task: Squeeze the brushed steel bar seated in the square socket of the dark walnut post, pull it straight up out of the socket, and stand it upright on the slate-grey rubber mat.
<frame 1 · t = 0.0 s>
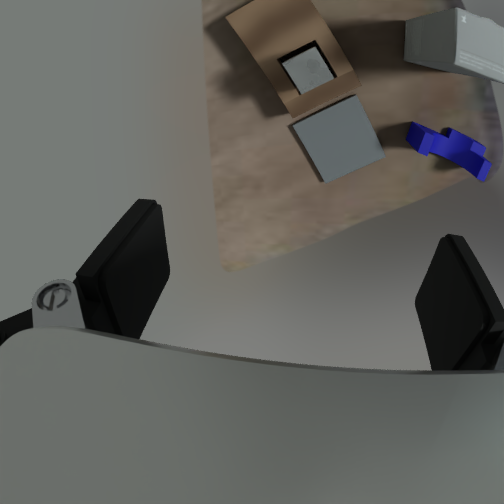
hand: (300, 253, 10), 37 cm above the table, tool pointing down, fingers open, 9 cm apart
cable clip: (442, 139, 40), on the table
skincare box: (430, 44, 32), on the table
steel bar: (306, 65, 38), resting in walnut socket post
walnut socket post: (295, 47, 37), on the table
rubber mat: (340, 139, 43), on the table
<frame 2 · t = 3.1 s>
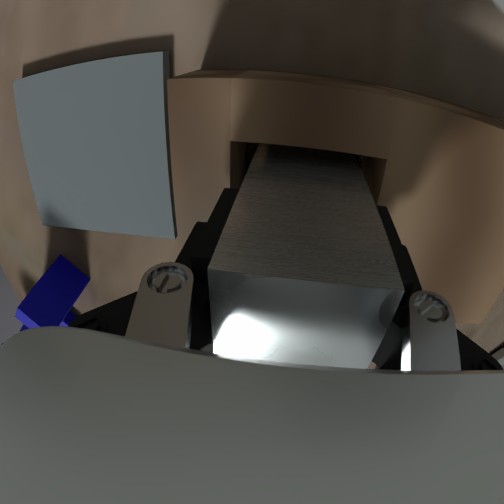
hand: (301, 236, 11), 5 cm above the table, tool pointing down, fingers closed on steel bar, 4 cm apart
cable clip: (65, 302, 25), on the table
steel bar: (302, 176, 15), resting in walnut socket post, touching gripper
walnut socket post: (362, 184, 15), on the table
rubber mat: (91, 148, 16), on the table
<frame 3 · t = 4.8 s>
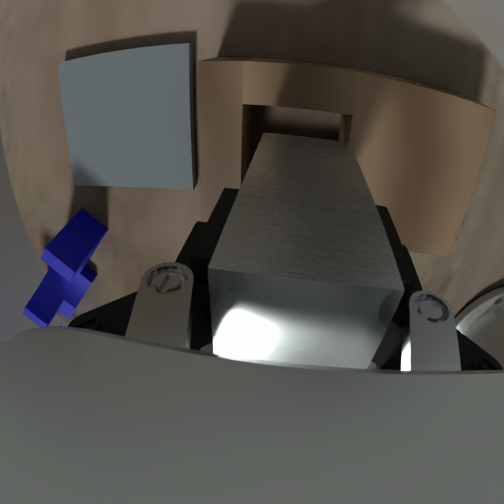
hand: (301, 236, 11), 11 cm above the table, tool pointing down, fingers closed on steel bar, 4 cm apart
cable clip: (81, 258, 29), on the table
steel bar: (302, 175, 15), point 5 cm above the table, touching gripper
walnut socket post: (341, 142, 19), on the table
rubber mat: (125, 118, 20), on the table
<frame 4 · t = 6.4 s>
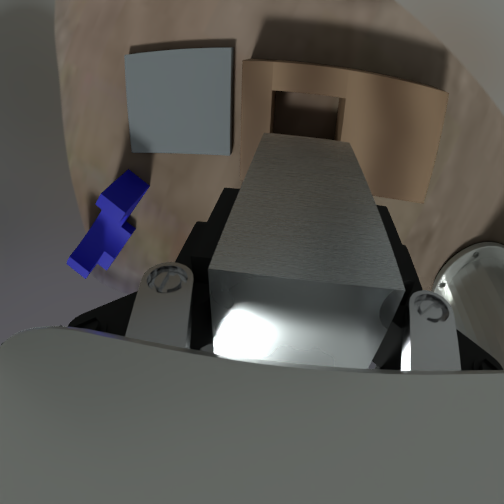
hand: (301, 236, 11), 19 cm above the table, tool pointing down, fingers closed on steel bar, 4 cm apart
cable clip: (122, 215, 36), on the table
steel bar: (302, 175, 15), point 14 cm above the table, touching gripper
walnut socket post: (339, 121, 26), on the table
rubber mat: (178, 100, 27), on the table
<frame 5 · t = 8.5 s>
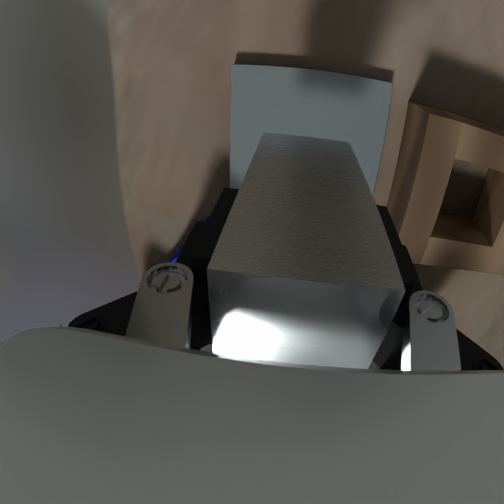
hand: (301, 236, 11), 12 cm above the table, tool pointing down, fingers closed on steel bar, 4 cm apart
steel bar: (302, 175, 15), point 7 cm above the table, touching gripper
walnut socket post: (485, 188, 20), on the table
rubber mat: (306, 141, 21), on the table
when the fingers open (8 cm above the table, at t = 10.0 s): steel bar drops 2 cm, resting on rubber mat.
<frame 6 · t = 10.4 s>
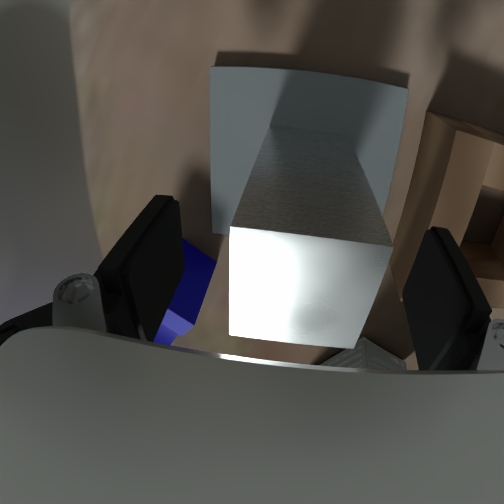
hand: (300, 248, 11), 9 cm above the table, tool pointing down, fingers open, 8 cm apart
cable clip: (169, 295, 26), on the table
skincare box: (354, 368, 28), on the table
steel bar: (304, 165, 17), point 1 cm above the table, touching rubber mat
rubber mat: (302, 159, 17), on the table
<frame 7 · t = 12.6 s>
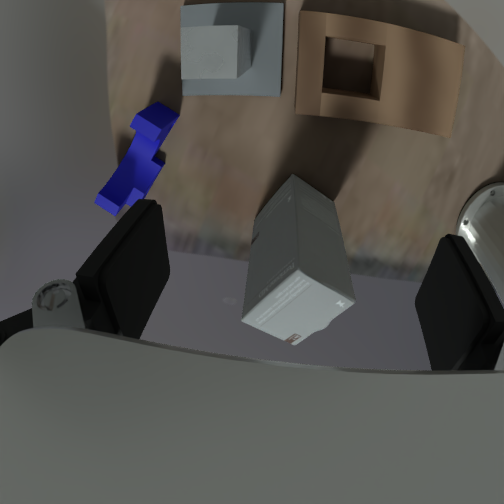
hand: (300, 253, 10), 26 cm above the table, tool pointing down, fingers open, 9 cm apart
cable clip: (150, 151, 36), on the table
skincare box: (294, 212, 39), on the table
steel bar: (231, 48, 27), point 1 cm above the table, touching rubber mat
walnut socket post: (374, 69, 27), on the table
rubber mat: (231, 48, 28), on the table
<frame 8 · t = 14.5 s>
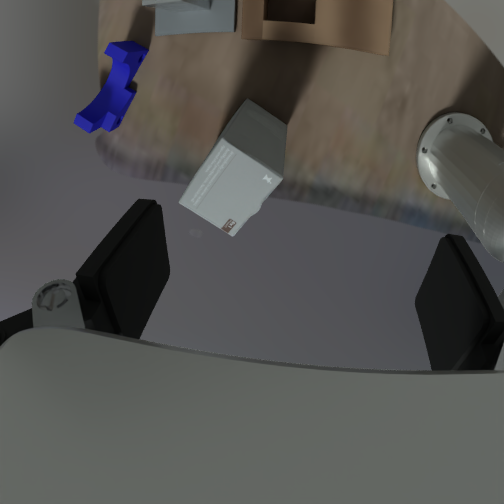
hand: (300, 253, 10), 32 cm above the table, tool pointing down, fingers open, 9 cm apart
cable clip: (125, 84, 38), on the table
skincare box: (251, 137, 40), on the table
walnut socket post: (317, 6, 29), on the table
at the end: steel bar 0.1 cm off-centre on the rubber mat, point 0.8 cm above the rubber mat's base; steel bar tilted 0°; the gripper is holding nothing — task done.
